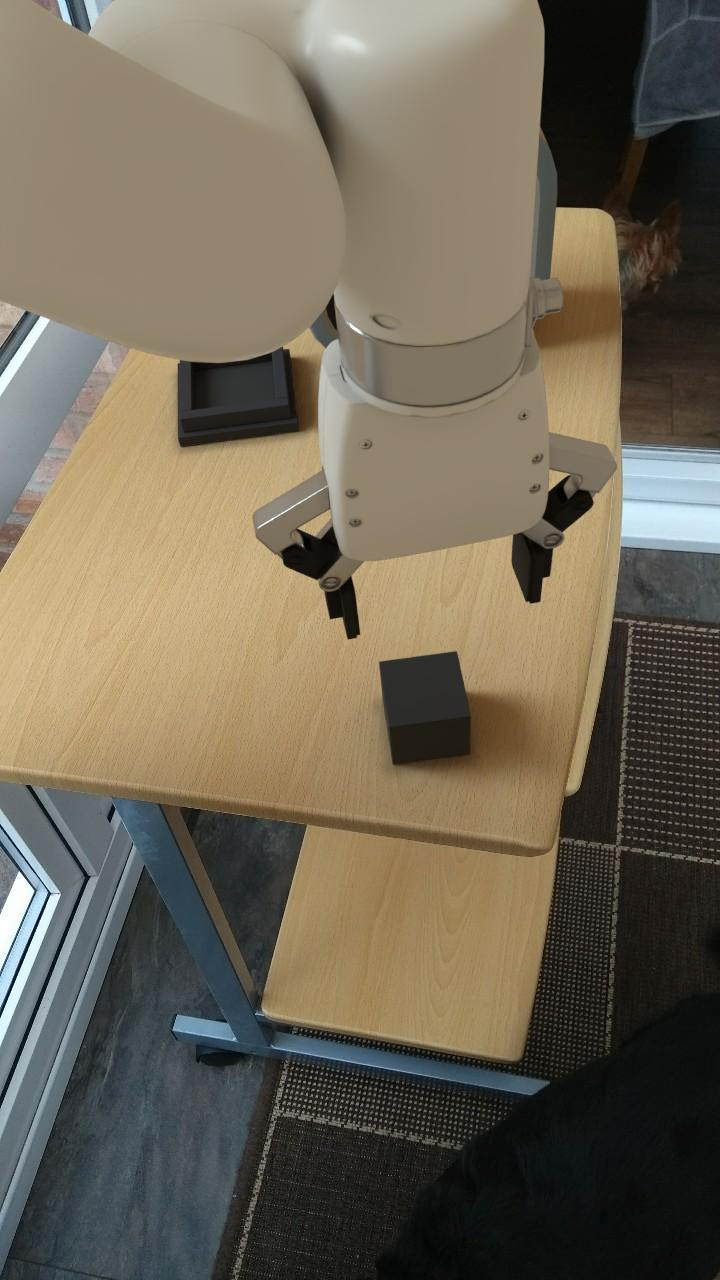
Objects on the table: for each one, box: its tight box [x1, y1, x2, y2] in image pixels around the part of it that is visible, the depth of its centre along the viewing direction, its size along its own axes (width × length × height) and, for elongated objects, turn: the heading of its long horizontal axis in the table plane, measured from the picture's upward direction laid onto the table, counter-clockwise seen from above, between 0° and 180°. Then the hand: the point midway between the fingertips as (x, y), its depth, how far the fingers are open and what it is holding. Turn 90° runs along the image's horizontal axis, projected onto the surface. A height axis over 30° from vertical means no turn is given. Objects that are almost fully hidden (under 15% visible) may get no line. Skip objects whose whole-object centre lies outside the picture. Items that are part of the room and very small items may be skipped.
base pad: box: [176, 346, 300, 448], centre depth 87 cm, size 10×10×2 cm
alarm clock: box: [308, 126, 558, 349], centre depth 83 cm, size 21×10×22 cm, turn 95°
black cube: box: [378, 650, 472, 766], centre depth 65 cm, size 5×5×4 cm
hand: (437, 600), depth 54 cm, fingers open, 9 cm apart
